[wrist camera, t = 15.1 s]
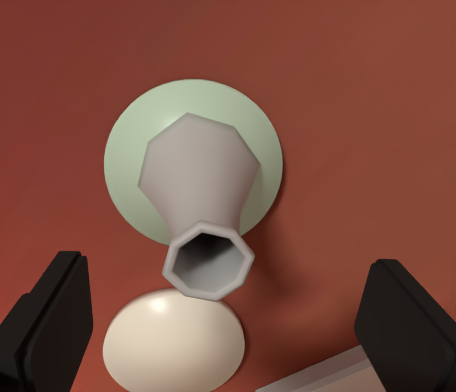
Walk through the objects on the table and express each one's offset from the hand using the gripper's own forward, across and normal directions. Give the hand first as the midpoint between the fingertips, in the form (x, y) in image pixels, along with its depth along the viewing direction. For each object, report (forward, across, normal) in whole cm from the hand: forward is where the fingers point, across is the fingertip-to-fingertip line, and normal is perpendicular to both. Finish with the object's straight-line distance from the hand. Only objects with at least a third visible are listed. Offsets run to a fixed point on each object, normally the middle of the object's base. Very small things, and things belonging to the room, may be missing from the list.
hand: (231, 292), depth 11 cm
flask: (+12, +1, 0) cm, 12 cm away
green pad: (+12, +1, 0) cm, 12 cm away
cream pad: (+12, +2, +15) cm, 19 cm away
